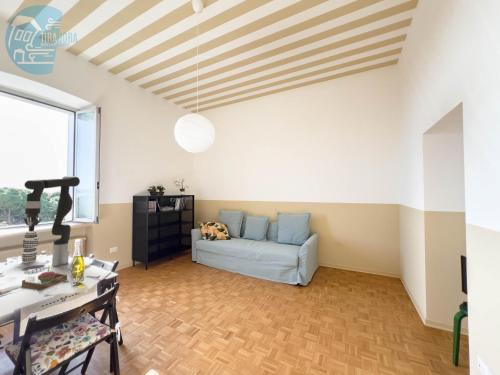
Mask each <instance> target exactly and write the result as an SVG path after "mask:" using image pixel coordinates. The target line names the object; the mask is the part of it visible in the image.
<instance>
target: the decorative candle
mask: <svg viewBox="0 0 500 375" xmlns="http://www.w3.org/2000/svg"><path fill="white" fill-rule="evenodd" d="M38 234H39V232H37V231H35V230H34V231H27V232H26V233H24V238H23V240H22V249H23V252H22V254H21V255H22V258H21V263H22V264H28V263H29V262H30V263H33V262H37V257H38V256H37V255H38V252H37V248H38V244H39V237H38Z"/></svg>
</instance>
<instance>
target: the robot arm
mask: <svg viewBox="0 0 500 375" xmlns="http://www.w3.org/2000/svg"><path fill="white" fill-rule="evenodd" d="M80 181H81V180H80V178H79V177H78V176H74V175H66V176H63V177H62V178H47V179H45V178H43V179H29V180H27V181H25V182H24V188H26V189H27V190H32V192H29V193H27V194H26V202H25V210H24V211H25V212H24V214H25V215H26V217H24V218H23V221H24V223H25V225H26V226H28V232H33V231H34V232H35V226H38V225H39V223H40V222H41V220H42V218H40V217H39V215H40V214H41V207H42V206H41V205H42V204H41V201H42V200H41V198H42V195H43V192H44V189H51V188H59V187H60V192H59V199H58V203H57V209H56V213H55V217H54V222H53V223H52V227H51V234H52V235H53V236H60V238H58V239H55V240H53V247H52V257H51V258H52V262H51V266H55V267H57V266H59V267H60V266H64V265H66V264H67V263H69V254H70V252H69V240H70V237H71V236H70V235H71V231H72V230H71V225H70V224H62V223H63V221H64V219H65V217H66V216H67V215H68V214H69V213H70V212H71V210H72V208H73V203H74V201H73V198H72V197H71V194H70V187H72V188H74V187H77V186H79V185H80Z"/></svg>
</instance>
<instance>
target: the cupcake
mask: <svg viewBox="0 0 500 375" xmlns="http://www.w3.org/2000/svg"><path fill="white" fill-rule="evenodd" d="M55 273H56V272H54V271H51V272H50V265H49V266H48V267H47V270H46V271H44V272H42V273H41V274H39V275H38V276H37V280H39V281H40V284H42V283H45V282H47V281H50V280H53V279H55V278H54V277H55Z"/></svg>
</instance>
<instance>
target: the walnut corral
mask: <svg viewBox="0 0 500 375" xmlns="http://www.w3.org/2000/svg"><path fill="white" fill-rule="evenodd" d="M49 272H52V271H51V270H49ZM54 273H55V277H54V278H53V279H52V280H50V281H47V282H45V283H42V284H41V282H32V281H26V279H22V280H21V287H23V288H30V289H36V290H43V289H45V288H48V287H50V286H52V285H56V284H58V283H60V282H63V281H66V280H68V274H64V273H56V272H54Z"/></svg>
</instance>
